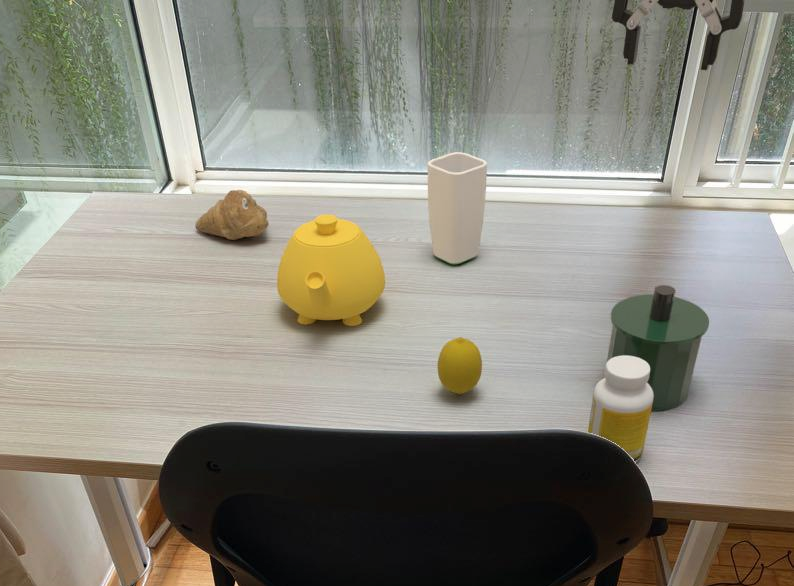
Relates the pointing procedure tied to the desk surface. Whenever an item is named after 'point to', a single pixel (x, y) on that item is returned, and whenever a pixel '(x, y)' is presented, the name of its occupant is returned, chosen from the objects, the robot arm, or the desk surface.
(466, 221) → the cup
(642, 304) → the pot lid
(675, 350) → the pot
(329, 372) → the desk surface
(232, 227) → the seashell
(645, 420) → the pill bottle
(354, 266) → the teapot
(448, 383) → the lemon
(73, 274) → the desk surface
